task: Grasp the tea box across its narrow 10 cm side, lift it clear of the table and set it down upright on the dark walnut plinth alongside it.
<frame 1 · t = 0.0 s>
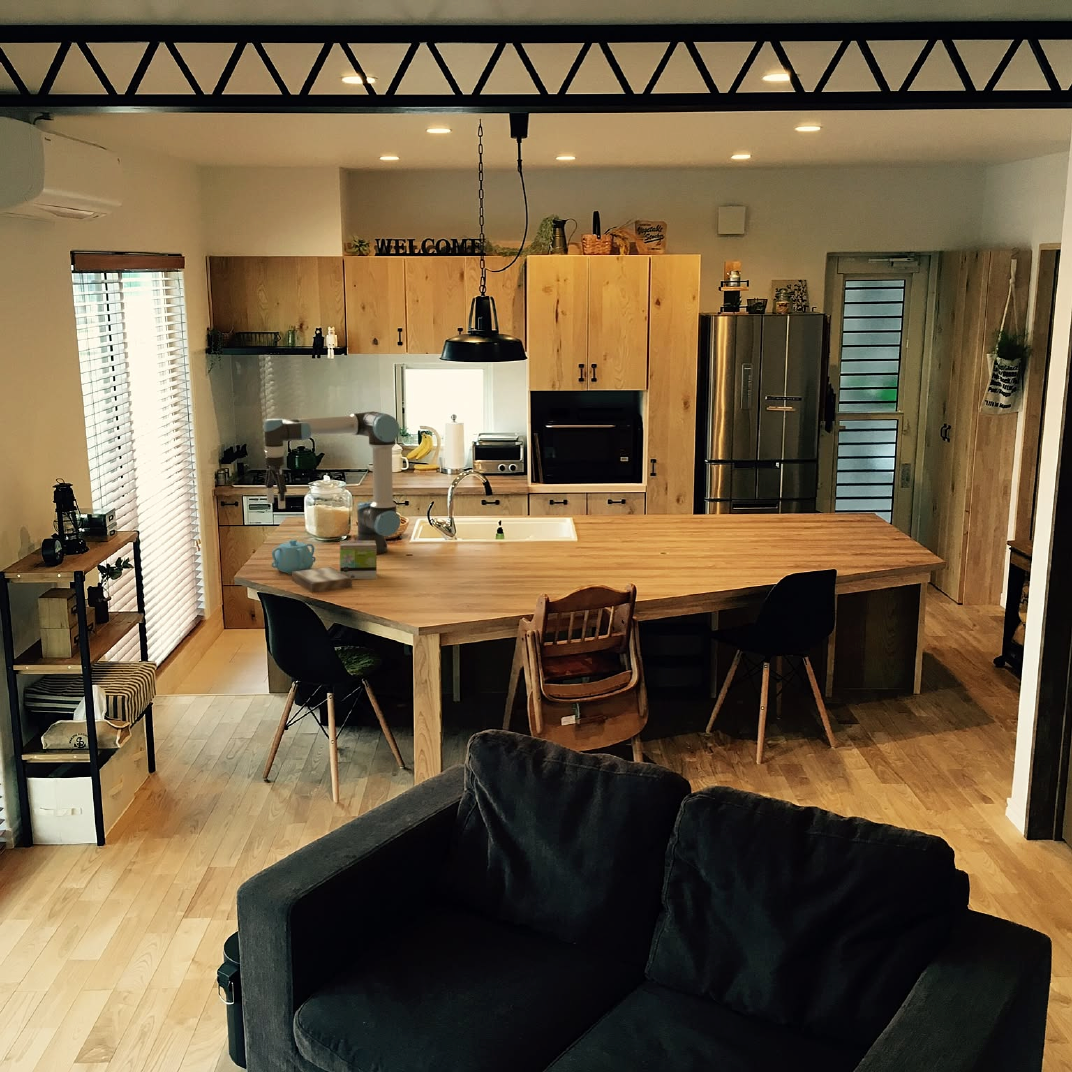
hand: (276, 505, 481), 28 cm above the table, fingers open, 13 cm apart
decorative pot: (293, 571, 486), on the table
plinth: (321, 584, 466), on the table
tea box: (358, 577, 479), on the table
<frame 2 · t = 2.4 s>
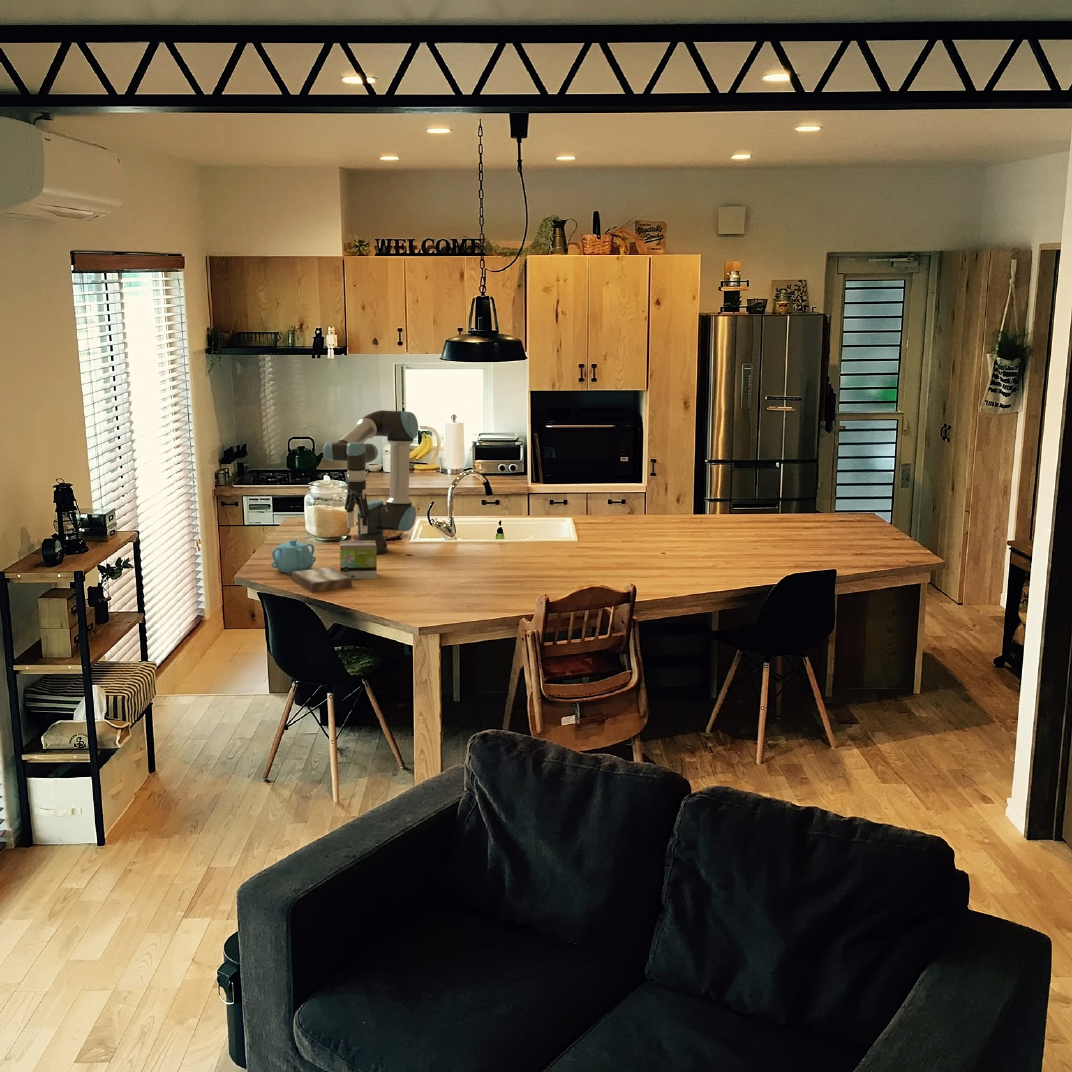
hand: (357, 530, 474), 20 cm above the table, fingers open, 13 cm apart
nothing on the table moved.
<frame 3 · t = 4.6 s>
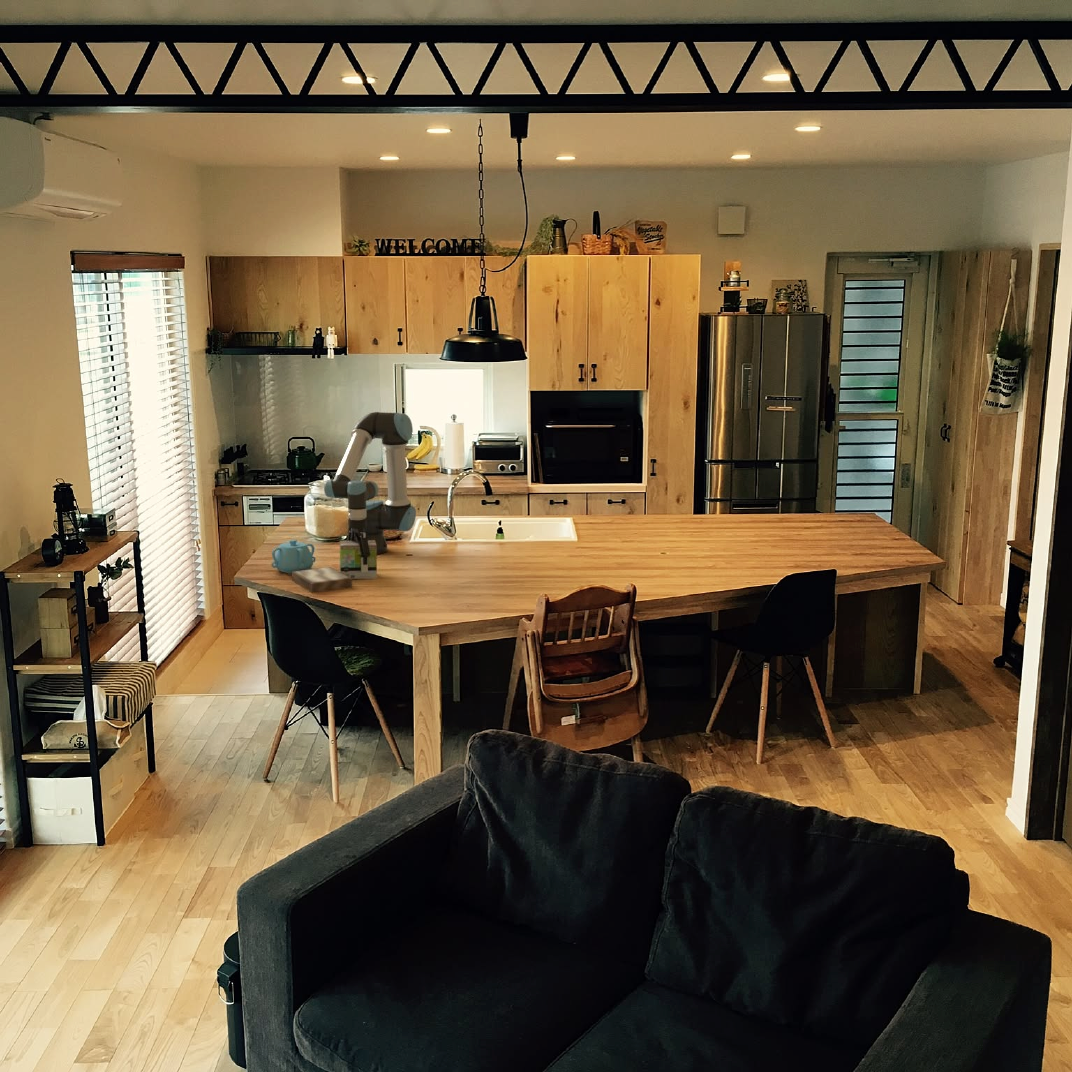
hand: (358, 568, 478), 3 cm above the table, fingers closed on tea box, 12 cm apart
tea box: (358, 577, 479), on the table, touching gripper
everything else where it was.
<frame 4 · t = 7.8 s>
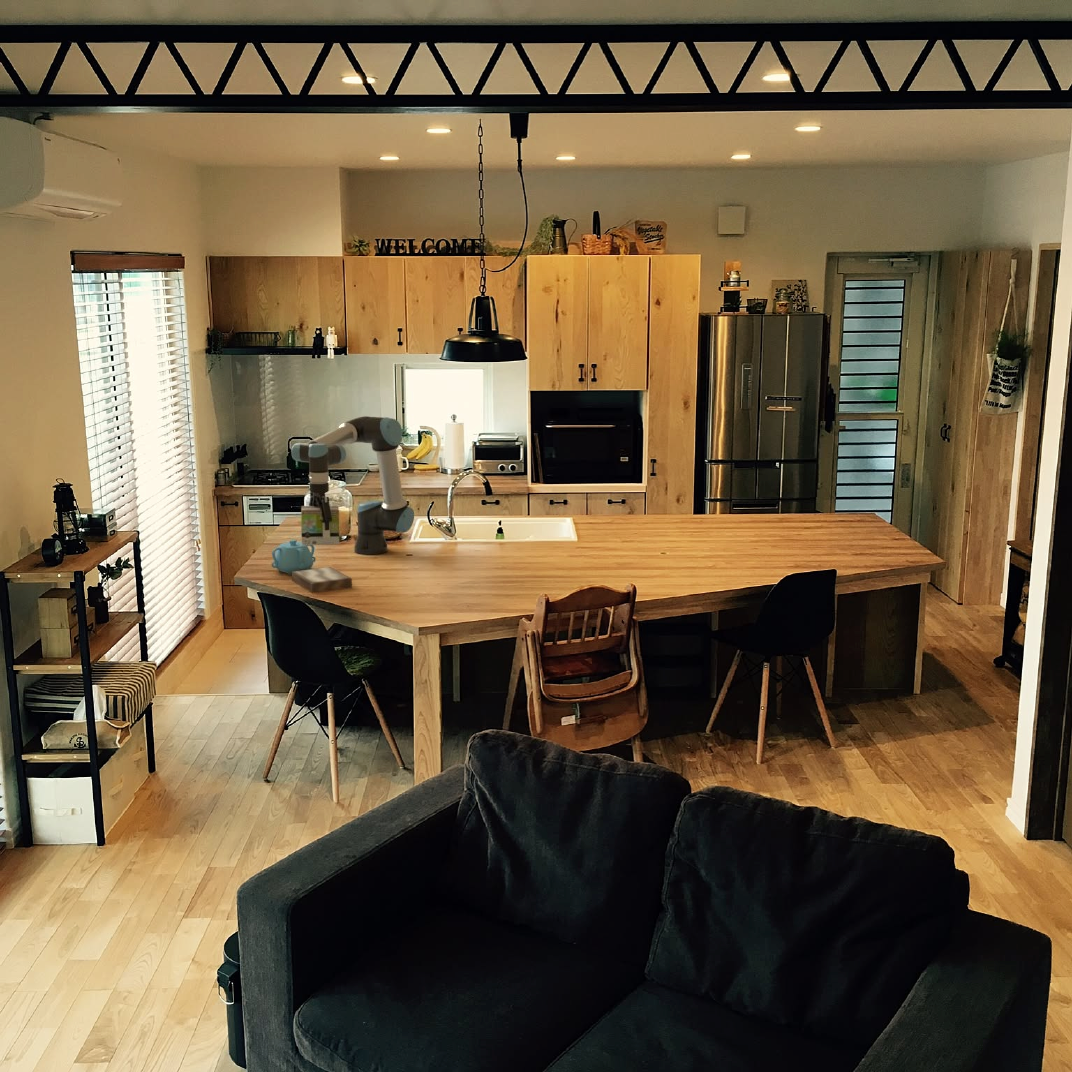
hand: (320, 535, 461), 21 cm above the table, fingers closed on tea box, 12 cm apart
tea box: (320, 543, 462), point 17 cm above the table, touching gripper
everything else where it was.
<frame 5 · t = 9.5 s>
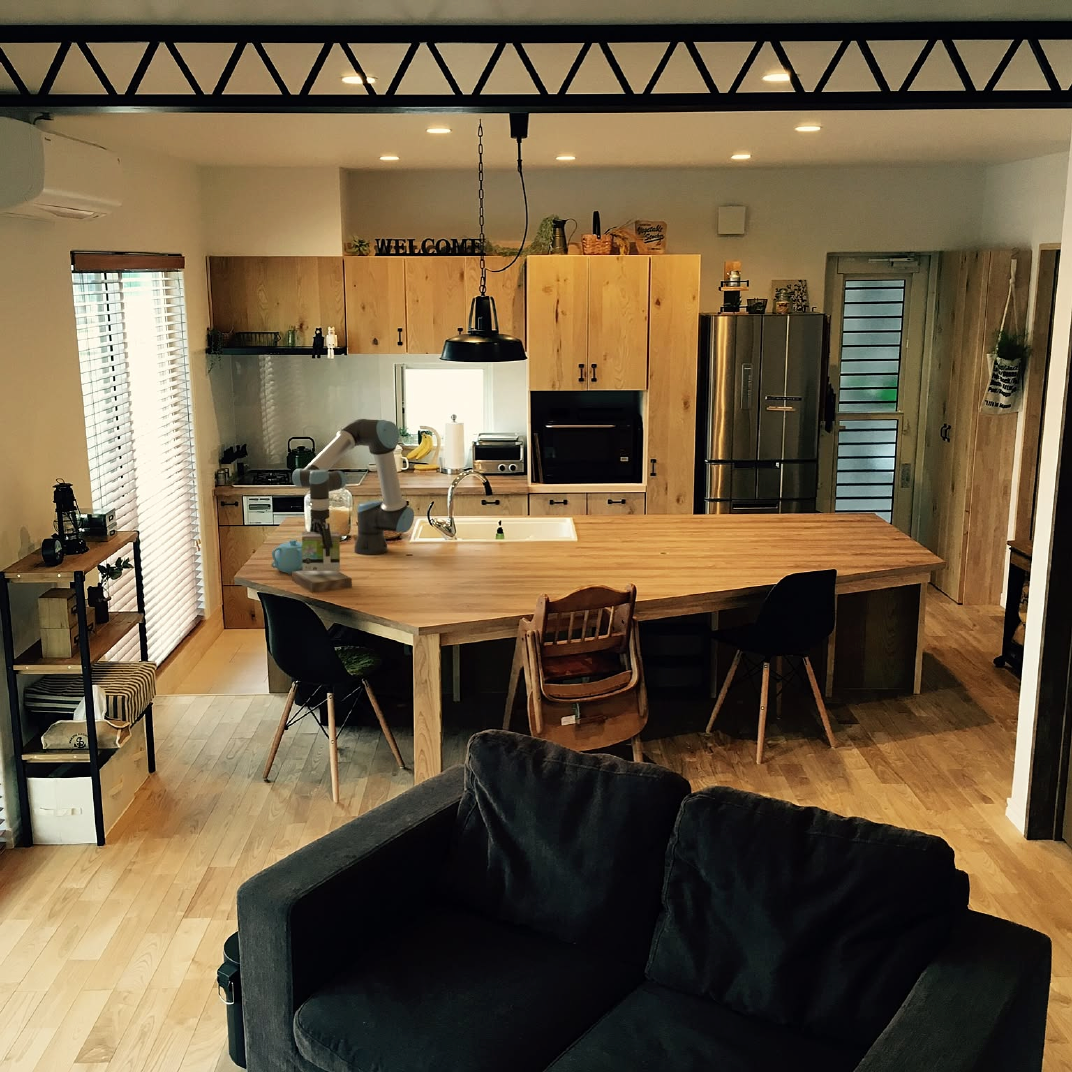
hand: (321, 560, 464), 10 cm above the table, fingers closed on tea box, 12 cm apart
tea box: (321, 569, 464), point 6 cm above the table, touching gripper
everything else where it was.
when the fingers open (8 cm above the table, at t = 11.0 s): tea box stays where it is, resting on plinth.
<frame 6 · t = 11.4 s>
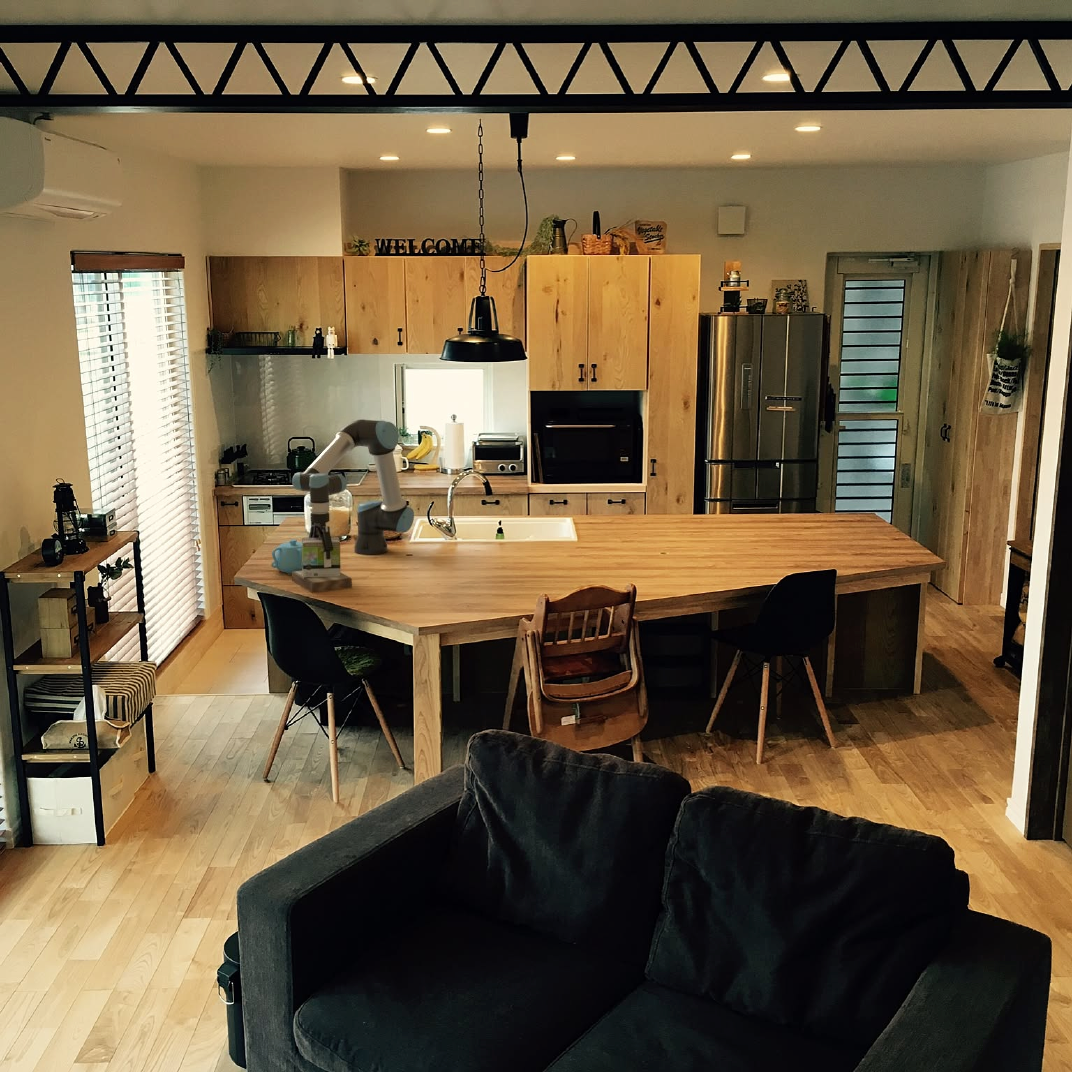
hand: (321, 563, 464), 9 cm above the table, fingers open, 13 cm apart
tea box: (321, 575, 465), point 4 cm above the table, touching plinth
everything else where it was.
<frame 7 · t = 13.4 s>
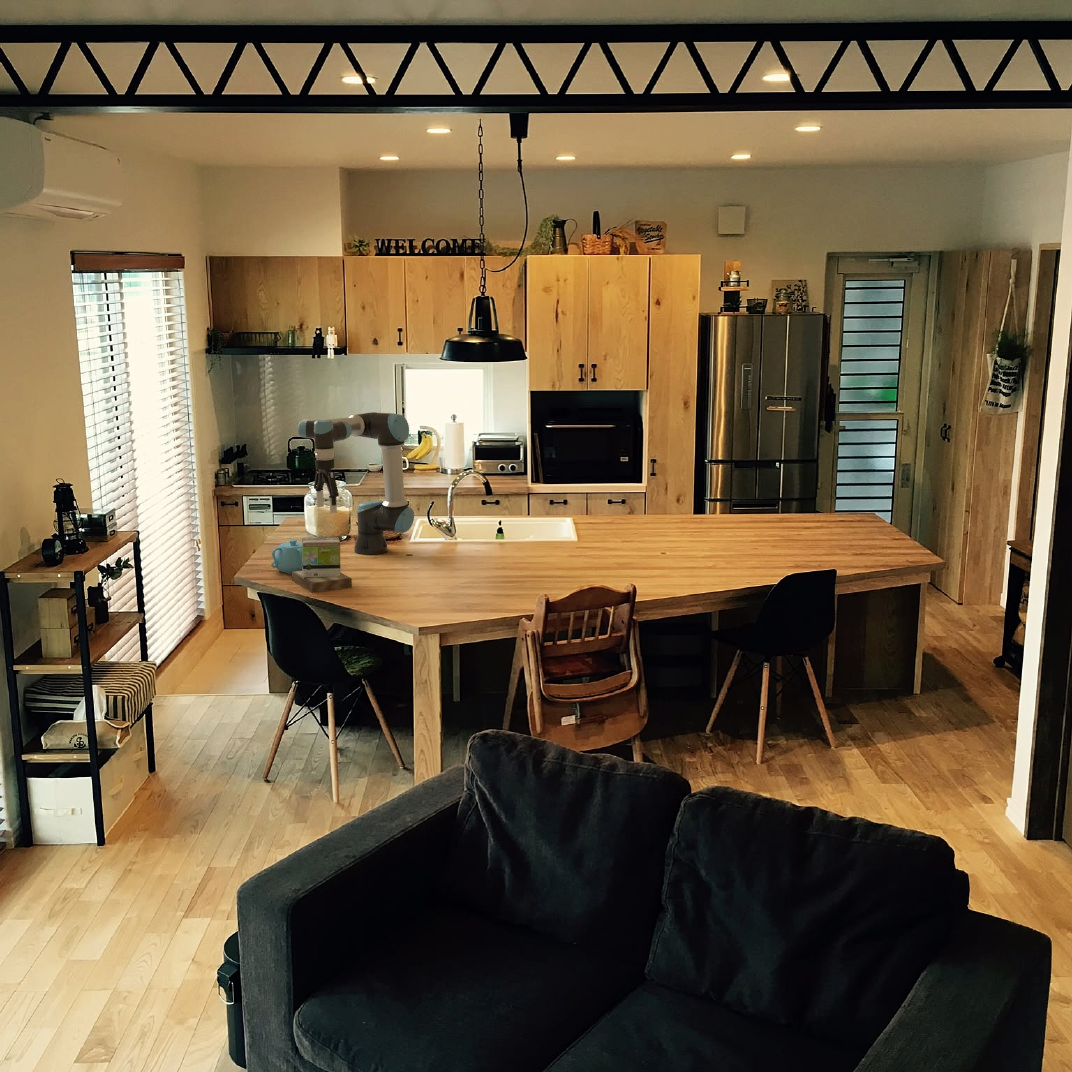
hand: (326, 509, 466), 30 cm above the table, fingers open, 13 cm apart
nothing on the table moved.
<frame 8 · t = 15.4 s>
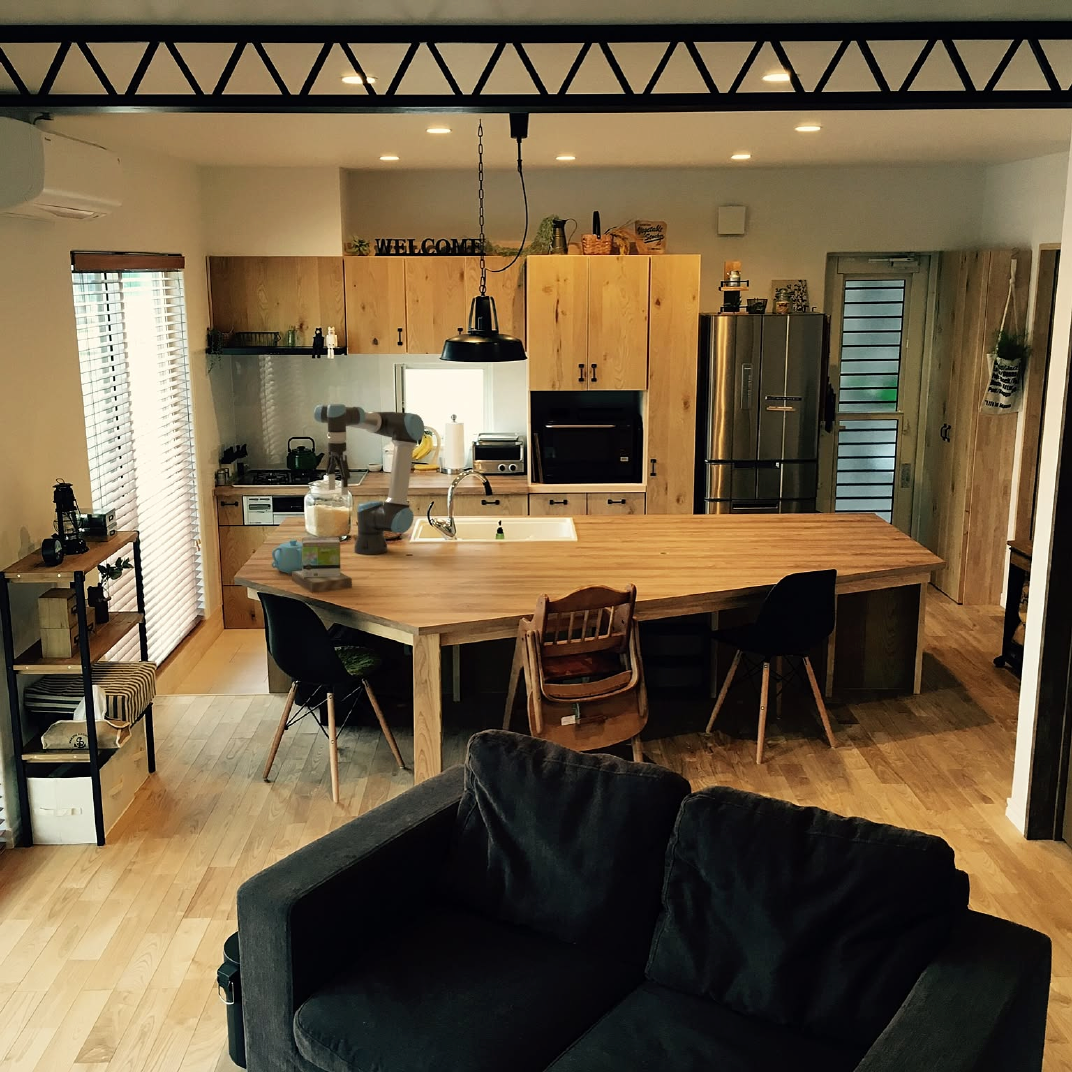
hand: (338, 492, 477), 35 cm above the table, fingers open, 13 cm apart
nothing on the table moved.
at the end: tea box inside the target area on the plinth (0.2 cm from its centre), point 3.8 cm above the plinth's base; tea box tilted 0°; the gripper is holding nothing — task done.
